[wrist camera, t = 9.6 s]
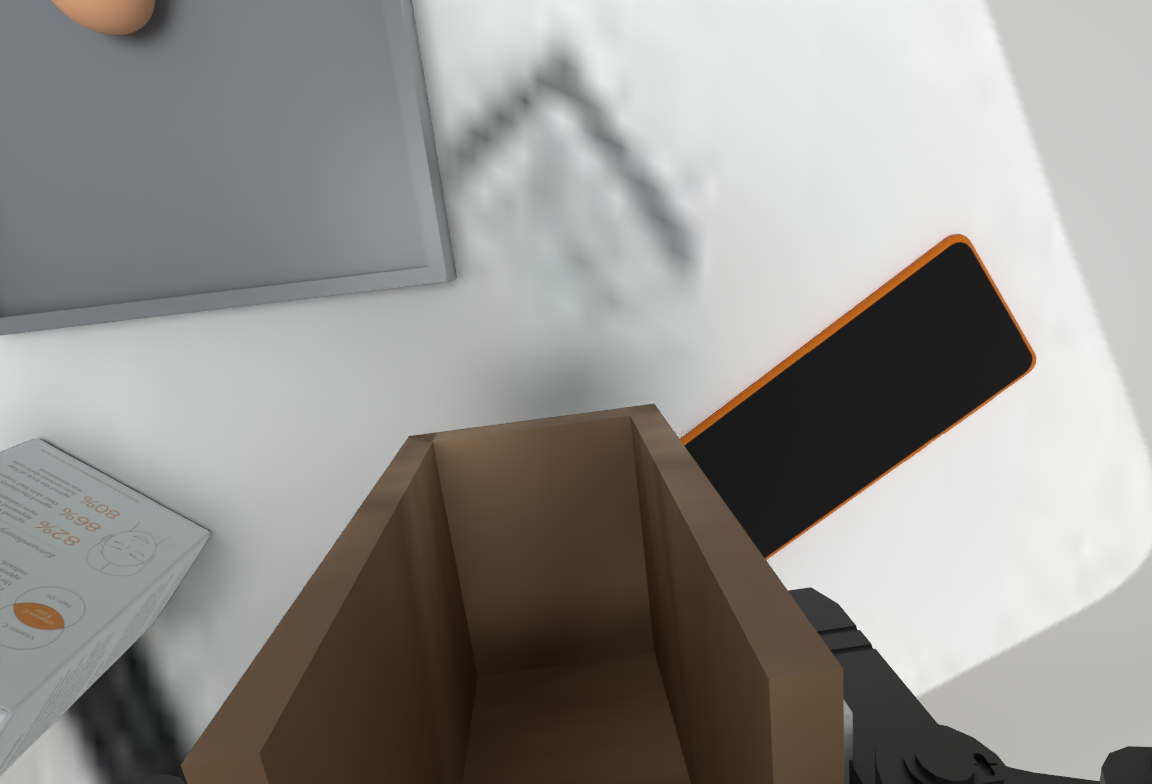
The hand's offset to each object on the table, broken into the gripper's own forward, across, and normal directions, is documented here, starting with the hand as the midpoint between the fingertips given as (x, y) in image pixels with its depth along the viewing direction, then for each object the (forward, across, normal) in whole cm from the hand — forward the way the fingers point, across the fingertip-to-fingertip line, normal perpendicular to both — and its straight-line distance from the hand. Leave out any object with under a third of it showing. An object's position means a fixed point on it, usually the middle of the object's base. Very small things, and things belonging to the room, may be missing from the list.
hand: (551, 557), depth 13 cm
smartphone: (+14, +13, -2) cm, 19 cm away
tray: (+13, -12, +13) cm, 22 cm away
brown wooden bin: (0, 0, 0) cm, 0 cm away
